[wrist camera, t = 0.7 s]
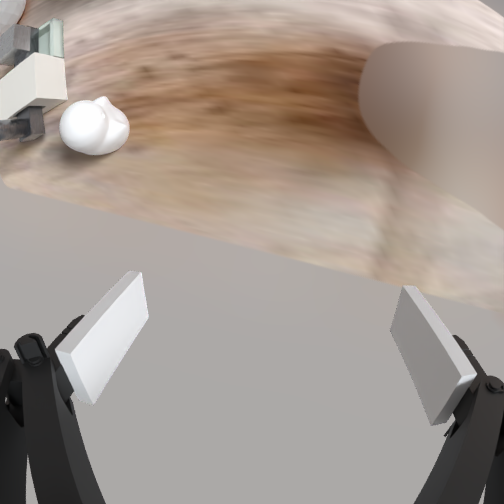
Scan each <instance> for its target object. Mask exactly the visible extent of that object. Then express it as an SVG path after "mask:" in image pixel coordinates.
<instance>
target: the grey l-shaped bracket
mask: <svg viewBox="0 0 504 504" xmlns="http://www.w3.org/2000/svg"><path fill="white" fill-rule="evenodd" d="M27 27H30V26H27ZM34 52H36V53H39V29H37V28H33V27H31V29H30V51H29V52H28V53H27V54H25V55H24V56H23V57H21V58H20V59H19V60H18V61H16V62H15V63H14V68H15V67H16V66H17V65H18V64H20V63H21V62H22V61H24V60H25V59H26V58H27V57H29V56H30V55H31V54H33V53H34ZM43 134H45V128H44V121H43V112H42V106H28V107H26V108H25V109H23V110H22V111H20V112H19V113H18V114H17V119H7V120H0V141H2V140H9V139H16V138H19V139H20V142H23V141H30V140H34V139H36V138H38V137H39V136H41V135H43Z"/></svg>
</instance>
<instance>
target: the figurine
mask: <svg viewBox="0 0 504 504" xmlns="http://www.w3.org/2000/svg"><path fill="white" fill-rule="evenodd" d="M59 131H60V136H61V138H62V140H63V141H64V143H65V144H66V145H67V146H69V147H70V148H71V149H73V150H75V151H78V152H82V153H85V154H88V155H103V154H107V153H111V152H114V151H116V150H117V149H119V148H120V147H121V146H122V145H123V144H124V143H125V142H126V140H127V138H128V135H129V122H128V120H127V118H126V116H125V115H124V113H123V112H121V111H120V110H119V109H117V108H115V107H114V106H113V105H112V104H111V103H110V102H109V100H108V98H107V97H105V96H103V97H100V98H97V99H96V100H94V101H89V100H82V101H78V102H75V103H73V104H72V105H70V106H69V107H68V108H67V109H66V110H65V112H64V113H63V115H62V117H61V120H60V125H59Z"/></svg>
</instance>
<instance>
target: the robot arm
mask: <svg viewBox="0 0 504 504" xmlns="http://www.w3.org/2000/svg"><path fill="white" fill-rule="evenodd" d="M148 318H149V315H148V310H147V304H146V298H145V292H144V285H143V279H142V272H137V271H128V272H127V273H126V274H125V275H124V276H123V277H122V278H121V279H120V280H119V281H118V282H117V283H116V284H115V285H114V286H113V287H112V288H111V289H110V290H109V291H108V292H107V293H106V294H105V295H104V296H103V297H102V298H101V299H100V300H99V302H97V304H96V305H95V306H94V307H93V308H92V309H91V310H90V311H89V312H88V313H87V314H86V315H81V316H79V317H78V318H76V319H74V320H73V321H72V322H71V323H70V324H69V325H68V326H67V328H65V329H64V330H63V331H62V334H60V335H59V336H58V337H57V338H56V339H55V340H54V341H53V342H52V343H51V345H50V346H49V347H48V348H46V346H45V343H44V341H43V339H42V336H40V335H39V334H36V333H31V334H26V335H24V336H22V337H21V338H19V339H18V340H17V342H16V343H15V345H14V348H15V350H16V352H17V354H18V356H19V358H20V360H18V359H12V357H11V355H10V353H9V351H8V350H6V349H0V504H26V469H27V455H28V458H29V464H30V469H31V474H32V479H33V484H34V488H35V492H36V496H37V500H38V504H106V503H105V501H104V499H103V496H102V494H101V491H100V489H99V486H98V484H97V481H96V478H95V476H94V473H93V471H92V468H91V465H90V462H89V459H88V456H87V453H86V450H85V447H84V443H83V440H82V436H81V433H80V430H79V426H78V422H77V418H76V414H75V410H74V406H73V402H72V400H71V398H70V396H71V394H72V393H73V391H74V392H75V394H76V396H77V398H78V400H79V401H82V402H85V403H88V404H91V405H94V404H95V402H96V401H97V399H98V397H99V396H100V394H101V392H102V391H103V389H104V387H105V386H106V384H107V382H108V381H109V379H110V377H111V376H112V374H113V373H114V371H115V369H116V368H117V366H118V365H119V363H120V361H121V360H122V358H123V356H124V355H125V353H126V352H127V350H128V349H129V347H130V345H131V344H132V342H133V341H134V339H135V338H136V336H137V335H138V333H139V331H140V330H141V328H142V327H143V325H144V324H145V322H146V321H147V319H148ZM390 332H391V334H392V336H393V338H394V340H395V342H396V344H397V346H398V348H399V351H400V353H401V355H402V357H403V359H404V362H405V364H406V366H407V368H408V370H409V373H410V375H411V378H412V380H413V382H414V384H415V387H416V389H417V392H418V394H419V397H420V399H421V401H422V404H423V406H424V409H425V412H426V414H427V417H428V419H429V422H430V424H431V426H433V425H437V424H442V423H446V422H447V420H448V419H449V418H450V416H451V414H452V413H453V414H454V417H455V419H456V420H455V421H454V423H453V424H452V425H451V426H450V428H449V429H448V431H447V432H446V433H445V435H444V436H445V437H446V436H447V434H448V436H447V438H446V441H445V443H444V445H443V448H442V450H441V452H440V454H439V457H438V459H437V461H436V463H435V465H434V467H433V469H432V471H431V473H430V475H429V477H428V479H427V481H426V483H425V485H424V487H423V488H422V490H421V492H420V494H419V495H418V497H417V499H416V501H415V502H414V504H478V503H479V501H480V498H481V495H482V492H483V490H484V487H485V484H486V488H485V496H484V503H483V504H504V383H503V382H502V381H501V380H500V379H498V378H497V377H494V376H487V375H486V373H485V372H484V371H483V369H482V367H481V366H480V364H479V363H478V361H477V360H476V359H475V357H474V356H473V354H472V352H471V351H470V350H469V348H468V346H467V345H466V344H465V342H464V341H463V340H462V339H460V338H459V337H458V336H456V335H451V333H450V332H449V330H448V329H447V328H446V326H445V325H444V324H443V322H442V321H441V319H440V318H439V316H438V315H437V314H436V312H435V311H434V310H433V308H432V307H431V306H430V304H429V303H428V302H427V300H426V299H425V298H424V296H423V295H422V294H421V292H420V291H419V290H418V289H417V287H416V286H402V290H401V294H400V298H399V301H398V305H397V308H396V312H395V315H394V319H393V322H392V326H391V329H390ZM5 398H7V401H6V403H5Z"/></svg>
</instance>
